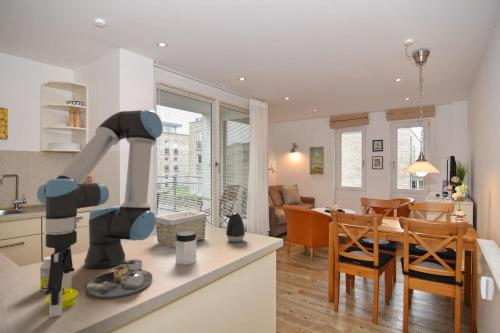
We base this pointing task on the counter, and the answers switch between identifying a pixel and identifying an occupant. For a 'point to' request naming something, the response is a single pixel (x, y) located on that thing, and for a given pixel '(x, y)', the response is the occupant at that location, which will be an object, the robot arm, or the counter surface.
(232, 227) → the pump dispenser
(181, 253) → the jar
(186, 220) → the storage basket
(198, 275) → the counter surface
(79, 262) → the counter surface
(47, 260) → the supplement bottle
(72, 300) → the gear
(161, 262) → the counter surface
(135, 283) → the carrier
